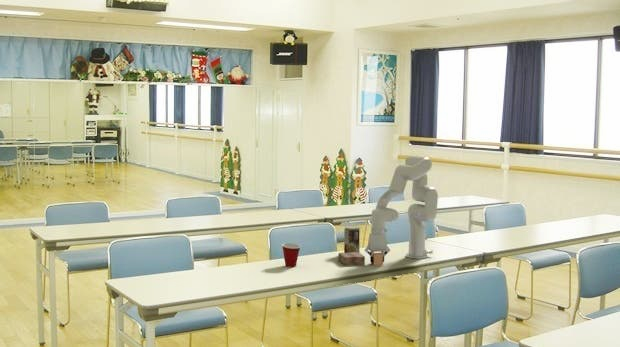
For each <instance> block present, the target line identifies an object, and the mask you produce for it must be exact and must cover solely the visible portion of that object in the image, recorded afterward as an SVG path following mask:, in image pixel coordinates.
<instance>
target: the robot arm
mask: <svg viewBox="0 0 620 347" xmlns="http://www.w3.org/2000/svg"><path fill="white" fill-rule="evenodd" d="M404 163H405V164H400V165H397V166H396V167H395V170H394V172H393V175H392V178H391V181H390V184H389V187H388V189H387V190H385V192H384V193H383V194H382V195H381V196H380V197H379V199H378V201H377V203H376V206H375V208H374V209H373V210H372V211H371V226H370V227H371V229H370V230H371V232H369V236H368V243H367V246H366V247H365V249H364V252H365V253H367V254H368V255H369V257H370V260H369V262H370V263H371V264H372V265H373V263H374V257H373V254H374V253H382V254H383V263H384V262H385V257H386V255H388V254H389V252H390V251H391V249H390V248H389V246H388V241H387V240H388V238H387V234H386V232H388V229H387V228H386V227H385V226H386V222H387V223H393V222H396V221H397V220H398V218H399V212H398V211H397V210H396V209H395V208H391V207H387V206H388V204H389V203H390V202H391V201H392V200H393V199H395V198H397V197H400V196H401V195H403V194H404V192H405V189H406V186H407V183H408V181H412V186H411V187H412V188H411V198H412V199H413V201H415V202H420V203H412V204H410V205H409V206H408V209H407V216H408V220H409V221H408V224H409V228H408V229H409V230H408V252H406V253H405V256H406V258H410V259H417V260H419V259H420V260H421V259H426V258H428V255H429V254H430V255H431V254H432V255H433V253H434V251H433V249H432V250H430V249H426V229H427V228H426V223H427V222H428V223H431V222H433V221H434V220H435V219H436V218H437V211H438V202H439V201H438V200H439V198H438V197H439V194H438V191H437V190H436V188H435V187H432V186H428V175H427V174H428V173H429V171H430V170H432V169H431V168H432V166H433V162H432V160H431V158H429V157H426V156H417V155H416V156H415V155H410V156H407V157H406V158H405V162H404ZM425 222H426V223H425Z"/></svg>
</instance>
